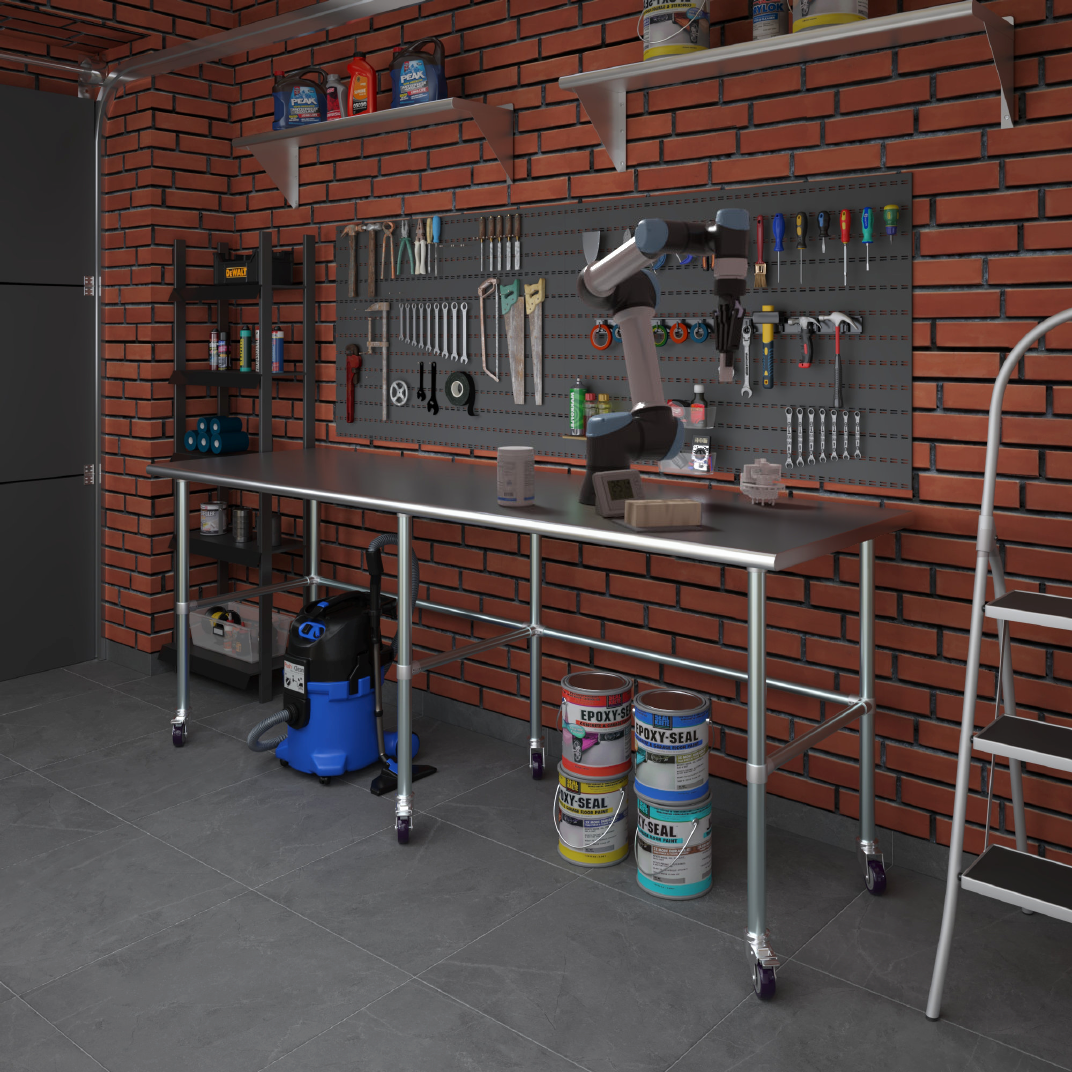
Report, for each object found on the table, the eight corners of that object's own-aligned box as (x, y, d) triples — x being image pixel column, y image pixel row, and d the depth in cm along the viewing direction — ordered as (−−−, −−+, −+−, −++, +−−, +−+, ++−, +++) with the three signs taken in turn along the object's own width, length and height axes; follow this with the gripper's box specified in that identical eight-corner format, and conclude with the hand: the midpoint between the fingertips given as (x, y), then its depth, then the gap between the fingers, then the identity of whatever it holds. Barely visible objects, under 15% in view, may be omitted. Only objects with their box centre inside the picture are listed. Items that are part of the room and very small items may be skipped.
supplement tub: (526, 501, 273) (527, 445, 270) (539, 506, 264) (540, 448, 262) (491, 503, 270) (492, 446, 267) (503, 508, 261) (504, 449, 258)
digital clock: (602, 519, 245) (603, 474, 243) (581, 514, 253) (581, 470, 251) (656, 514, 254) (658, 471, 252) (634, 510, 261) (635, 467, 259)
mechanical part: (757, 507, 267) (759, 461, 265) (732, 501, 278) (734, 457, 276) (793, 506, 271) (796, 460, 269) (767, 500, 282) (769, 456, 280)
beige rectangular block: (689, 520, 242) (624, 522, 238) (689, 498, 241) (625, 500, 237) (701, 524, 235) (635, 527, 231) (702, 503, 234) (636, 504, 230)
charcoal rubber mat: (611, 521, 241) (611, 519, 241) (673, 519, 246) (673, 517, 246) (636, 532, 226) (636, 530, 226) (701, 530, 231) (702, 528, 230)
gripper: (758, 277, 235) (753, 382, 239) (732, 281, 248) (727, 380, 252) (728, 276, 233) (723, 382, 237) (703, 279, 246) (699, 380, 250)
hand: (725, 381), depth 245 cm, fingers closed
